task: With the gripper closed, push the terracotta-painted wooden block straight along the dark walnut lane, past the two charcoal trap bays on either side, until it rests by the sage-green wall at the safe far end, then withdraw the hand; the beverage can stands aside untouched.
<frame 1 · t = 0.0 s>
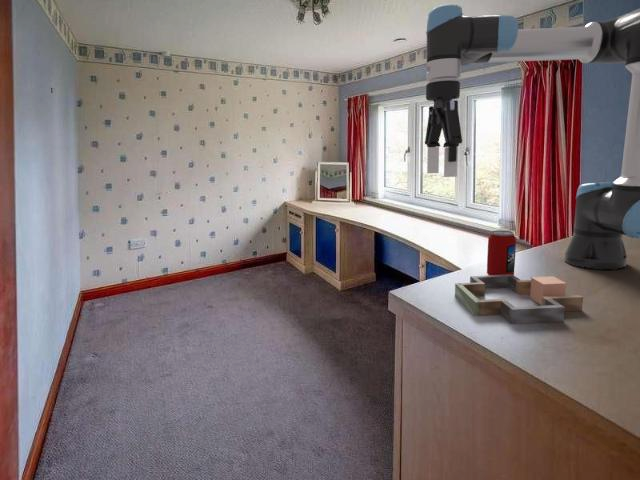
hand: (441, 175, 101), 28 cm above the cabinet, tool pointing down, fingers open, 13 cm apart
beverage can: (500, 276, 113), on the cabinet
block: (546, 301, 94), on the cabinet
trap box: (515, 302, 94), on the cabinet
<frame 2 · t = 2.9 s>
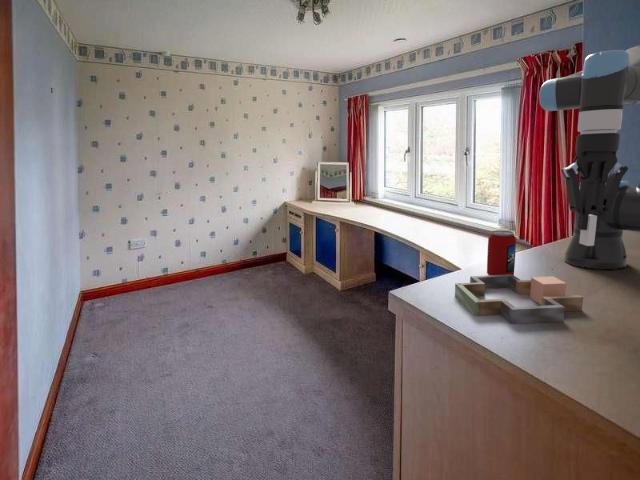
hand: (586, 244, 92), 13 cm above the cabinet, tool pointing down, fingers closed
nothing on the cabinet moved.
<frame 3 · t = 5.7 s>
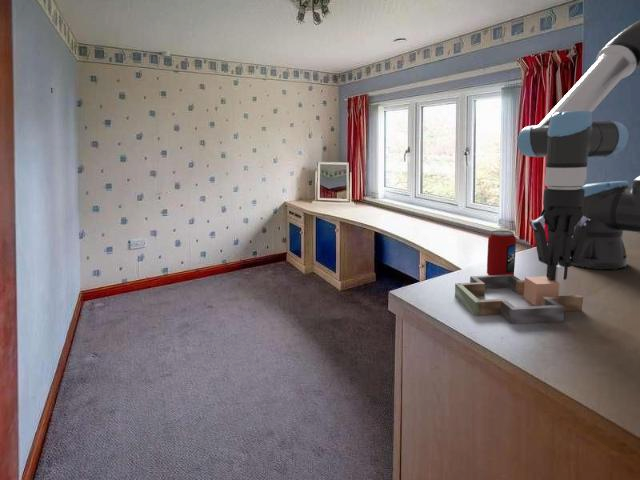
hand: (555, 293, 94), 2 cm above the cabinet, tool pointing down, fingers closed
block: (540, 301, 94), on the cabinet, touching gripper
everything else where it was.
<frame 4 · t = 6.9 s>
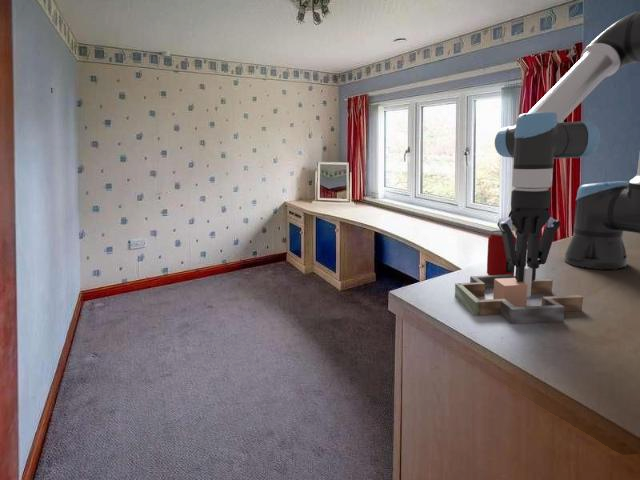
hand: (524, 294, 94), 2 cm above the cabinet, tool pointing down, fingers closed
block: (509, 303, 94), on the cabinet
everything else where it was.
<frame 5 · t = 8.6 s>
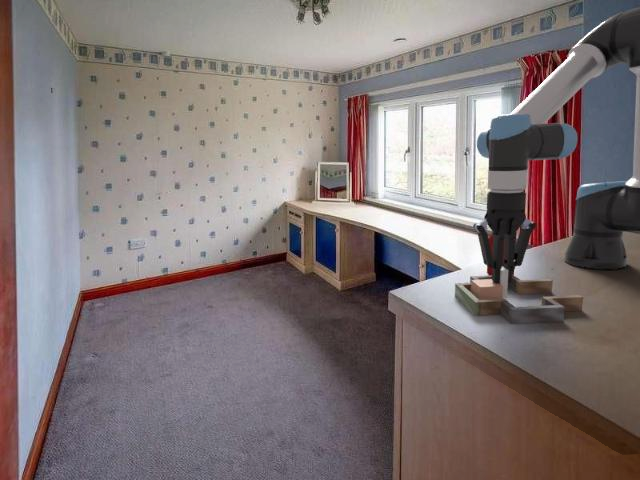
hand: (500, 296, 94), 2 cm above the cabinet, tool pointing down, fingers closed
block: (485, 304, 94), on the cabinet
everything else where it was.
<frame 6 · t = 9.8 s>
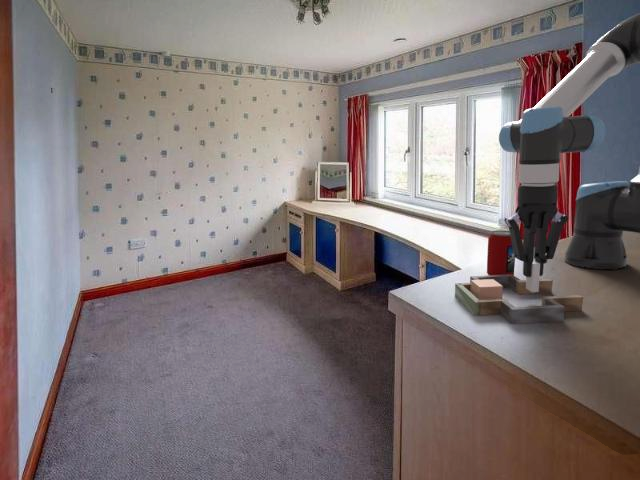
hand: (532, 289, 94), 3 cm above the cabinet, tool pointing down, fingers closed
nothing on the cabinet moved.
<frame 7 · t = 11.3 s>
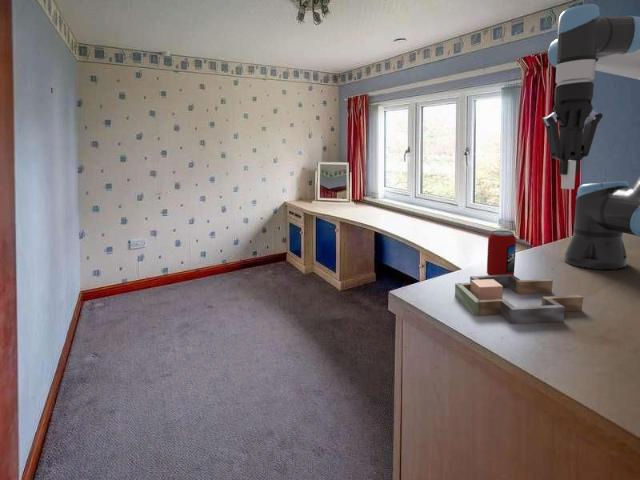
hand: (567, 188, 100), 24 cm above the cabinet, tool pointing down, fingers closed
nothing on the cabinet moved.
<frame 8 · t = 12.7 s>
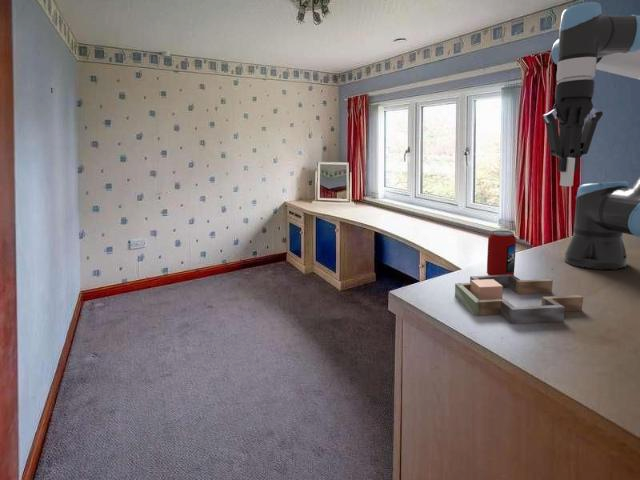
hand: (566, 185, 100), 24 cm above the cabinet, tool pointing down, fingers closed
nothing on the cabinet moved.
at the end: block inside the target area (0.5 cm from its centre), on the cabinet; block tilted 0° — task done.
